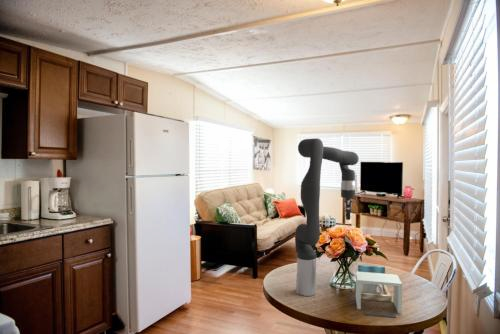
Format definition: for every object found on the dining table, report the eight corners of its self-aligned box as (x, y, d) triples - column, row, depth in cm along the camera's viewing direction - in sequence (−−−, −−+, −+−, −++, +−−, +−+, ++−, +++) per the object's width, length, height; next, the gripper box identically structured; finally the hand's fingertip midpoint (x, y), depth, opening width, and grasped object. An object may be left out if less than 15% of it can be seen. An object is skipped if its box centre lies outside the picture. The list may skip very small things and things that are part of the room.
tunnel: (357, 308, 148) (357, 280, 148) (355, 298, 160) (355, 271, 160) (401, 313, 144) (402, 283, 144) (396, 302, 155) (397, 274, 155)
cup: (387, 298, 160) (387, 281, 160) (377, 301, 156) (377, 284, 156) (368, 290, 169) (368, 274, 169) (357, 294, 165) (357, 277, 165)
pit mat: (365, 314, 143) (365, 313, 143) (364, 312, 145) (364, 311, 145) (396, 318, 140) (396, 317, 140) (395, 315, 142) (395, 314, 142)
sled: (360, 298, 159) (361, 279, 159) (357, 281, 182) (357, 264, 182) (391, 301, 156) (391, 282, 156) (384, 283, 179) (384, 266, 179)
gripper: (340, 187, 194) (340, 216, 194) (341, 189, 180) (340, 220, 180) (354, 188, 192) (354, 216, 192) (356, 190, 178) (355, 220, 178)
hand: (347, 218), depth 186 cm, fingers open, 8 cm apart
